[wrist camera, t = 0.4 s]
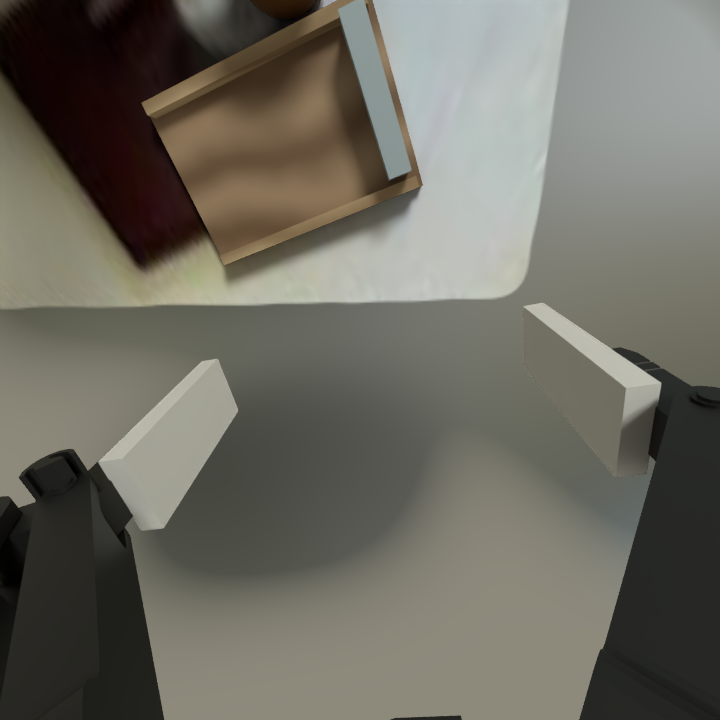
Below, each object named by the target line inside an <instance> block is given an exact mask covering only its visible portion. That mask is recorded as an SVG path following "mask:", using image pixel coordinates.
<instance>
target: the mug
mask: <svg viewBox="0 0 720 720" xmlns="http://www.w3.org/2000/svg"><path fill="white" fill-rule="evenodd" d="M251 1H252V2H253V4H254V5H255V6H256V7H257V8H259V9H260V10H261V11H262V12H264V13H266V14H267V15H269V16H271V17H274V18H277V19H285V20H286V19H293V18H296V17H299V16H301V15H302V14H304V13H305V12H307V11H308V10H309V9H310V8H311V7H312V6H313V4H314V3H315V2H316V0H251Z"/></svg>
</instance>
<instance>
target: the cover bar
mask: <svg viewBox="0 0 720 720" xmlns="http://www.w3.org/2000/svg"><path fill="white" fill-rule="evenodd" d="M338 13H339V17H340V22H341V26H342V31H343V34H344V38H345V41H346V44H347V47H348V51H349V54H350V57H351V61H352V64H353V67H354V70H355V74H356V77H357V80H358V83H359V87H360V90H361V93H362V97H363V100H364V103H365V106H366V110H367V113H368V116H369V119H370V123H371V126H372V129H373V133H374V136H375V139H376V142H377V146H378V149H379V152H380V155H381V159H382V162H383V165H384V169H385V172H386V175H387V178H388V181H390V180H392V179H395V178H397V177H400V176H402V175H405V174H407V173H409V172H410V171H412V169H411V166H410V162H409V159H408V155H407V151H406V148H405V144H404V141H403V137H402V134H401V130H400V126H399V123H398V119H397V116H396V112H395V108H394V105H393V101H392V98H391V94H390V91H389V87H388V83H387V80H386V76H385V73H384V69H383V66H382V62H381V58H380V55H379V51H378V48H377V44H376V41H375V37H374V33H373V30H372V26H371V23H370V19H369V15H368V12H367V8H366V5H365V1H364V0H355V1H353V2H351V3H349V4H347V5H345V6H343V7H341V8H339V9H338Z"/></svg>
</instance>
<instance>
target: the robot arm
mask: <svg viewBox="0 0 720 720" xmlns="http://www.w3.org/2000/svg"><path fill="white" fill-rule="evenodd" d="M523 334H524V368H525V369H526V370H527V372H528V373H529V374H530V375H531V376H532V378H533V379H534V380H535V381H536V382H537V384H538V385H539V386H540V387H541V388H542V390H543V391H544V392H545V393H546V394H547V396H548V397H549V398H550V399H551V400H552V402H553V403H554V404H555V405H556V406H557V408H558V409H559V410H560V411H561V412H562V414H563V415H564V416H565V417H566V419H567V420H568V421H569V422H570V423H571V425H572V426H573V427H574V428H575V429H576V431H577V432H578V433H579V434H580V435H581V436H582V438H583V439H584V440H585V441H586V443H587V444H588V445H589V446H590V447H591V449H592V450H593V451H594V452H595V453H596V455H597V456H598V457H599V458H600V460H601V461H602V462H603V463H604V464H605V466H607V468H608V469H609V470H610V472H611V473H612V474H613V475H614V476H615V477H624V476H633V475H641V474H647V468H648V462H649V456H651V457H652V458H653V459H654V460H655V461H656V463H655V467H654V470H653V474H652V477H651V481H650V484H649V488H648V491H647V495H646V499H645V502H644V506H643V509H642V513H641V516H640V520H639V524H638V527H637V531H636V534H635V538H634V541H633V545H632V549H631V552H630V556H629V559H628V563H627V566H626V570H625V574H624V577H623V581H622V584H621V588H620V592H619V595H618V599H617V602H616V606H615V610H614V613H613V617H612V620H611V624H610V628H609V631H608V634H607V638H606V641H605V644H604V647H603V649H601V650H600V652H599V655H598V658H597V661H596V664H595V667H594V670H593V674H592V677H591V681H590V684H589V688H588V691H587V695H586V698H585V702H584V705H583V709H582V712H581V716H580V719H579V720H720V388H717V387H708V386H690V385H689V384H687V383H685V382H683V381H682V380H681V379H679V378H677V377H675V376H674V375H672V374H671V373H669V372H667V371H666V370H664V369H661V368H660V366H658V365H656V364H655V363H653V362H650V360H648V359H647V358H645V357H644V356H642V355H640V354H639V353H636V352H633V351H630V350H627V349H623V348H613V349H610V348H609V347H607V346H606V345H605V344H603V343H602V342H600V341H598V340H597V339H595V338H594V337H592V336H591V335H590V334H588V333H587V332H585V331H584V330H582V329H581V328H579V327H578V326H576V325H575V324H573V323H572V322H571V321H569V320H568V319H566V318H565V317H563V316H562V315H560V314H559V313H557V312H556V311H554V310H553V309H551V308H549V307H548V306H547V305H545V304H544V303H540V304H534V305H528V306H524V307H523ZM237 412H238V408H237V406H236V404H235V401H234V398H233V396H232V393H231V391H230V388H229V386H228V383H227V381H226V378H225V376H224V373H223V371H222V368H221V366H220V363H219V361H218V359H213V360H208V361H202V362H201V363H200V364H199V365H198V366H197V367H196V368H195V369H193V371H191V372H190V373H189V374H188V375H187V376H186V377H185V378H184V379H183V380H182V381H181V382H180V383H179V384H178V385H177V386H176V387H175V388H174V389H173V390H172V391H171V392H170V393H169V394H168V395H167V396H166V397H165V398H163V400H162V401H160V402H159V403H158V404H157V405H156V406H155V407H154V408H153V409H152V410H151V411H150V412H149V413H148V414H147V415H146V416H145V417H144V418H143V419H142V420H141V421H140V422H139V423H138V424H137V425H136V426H135V427H133V428H132V429H131V430H130V431H129V432H128V433H127V434H126V435H125V436H124V437H123V438H122V439H121V440H120V441H119V442H118V443H117V444H116V445H115V446H114V447H112V449H110V450H109V451H108V452H107V453H106V454H105V455H104V456H103V457H102V458H101V459H100V460H99V461H98V462H97V463H96V464H95V465H94V466H93V467H92V468H91V469H90V470H89V471H87V469H86V467H85V466H84V464H83V463H82V461H81V460H80V458H79V457H78V455H77V454H76V452H75V451H74V450H73V449H67V450H62V451H58V452H55V453H53V454H50V455H48V456H46V457H44V458H42V459H40V460H38V461H36V462H35V463H33V464H32V465H30V466H29V467H28V468H27V469H25V470H24V471H23V472H22V474H21V475H20V477H19V478H20V480H21V481H22V483H23V484H24V485H25V486H26V488H27V489H28V490H29V492H30V493H31V494H32V496H33V497H34V498H35V500H36V502H35V503H32V504H29V505H26V506H23V507H20V508H18V507H17V506H16V504H15V503H14V502H13V501H12V499H11V498H10V497H8V496H7V497H6V496H5V497H0V720H164V716H163V711H162V705H161V700H160V694H159V689H158V683H157V678H156V673H155V668H154V662H153V657H152V651H151V646H150V640H149V635H148V629H147V624H146V618H145V613H144V608H143V602H142V597H141V592H140V586H139V581H138V575H137V570H136V564H135V559H134V554H133V549H132V543H131V537H130V535H129V533H128V532H127V530H126V529H125V526H126V524H127V523H128V522H129V520H130V519H131V518H132V517H133V518H134V520H135V522H136V523H137V525H138V527H139V528H140V530H141V531H143V530H151V529H160V528H164V526H165V525H166V523H167V522H168V520H169V519H170V517H171V515H172V514H173V512H174V511H175V509H176V508H177V506H178V505H179V503H180V501H181V500H182V498H183V497H184V495H185V493H186V492H187V490H188V489H189V487H190V486H191V484H192V482H193V481H194V479H195V478H196V476H197V474H198V473H199V471H200V470H201V468H202V467H203V465H204V464H205V462H206V461H207V459H208V457H209V456H210V454H211V453H212V451H213V450H214V448H215V446H216V445H217V443H218V442H219V440H220V439H221V437H222V435H223V434H224V432H225V431H226V429H227V428H228V426H229V424H230V423H231V421H232V420H233V418H234V417H235V415H236V413H237ZM391 720H462V719H461V716H438V717H411V718H394V719H391Z"/></svg>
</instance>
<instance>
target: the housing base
mask: <svg viewBox="0 0 720 720" xmlns="http://www.w3.org/2000/svg"><path fill="white" fill-rule="evenodd" d="M353 1H355V0H337V1H335V2H334V3H332V4H330V5H328V6H326V7H324V8H322V9H320V10H318V11H316V12H314V13H313V14H311V15H309V16H307V17H305V18H303V19H301V20H299V21H297V22H295V23H293V24H291V25H290V26H288V27H286V28H284V29H282V30H280V31H278V32H276V33H274V34H272V35H270V36H269V37H267V38H265V39H263V40H261V41H259V42H257V43H255V44H253V45H251V46H249V47H248V48H246V49H244V50H242V51H240V52H238V53H236V54H234V55H232V56H230V57H228V58H226V59H225V60H223V61H221V62H219V63H217V64H215V65H213V66H211V67H209V68H207V69H205V70H204V71H202V72H200V73H198V74H196V75H194V76H192V77H190V78H188V79H186V80H184V81H183V82H181V83H179V84H177V85H175V86H173V87H171V88H169V89H167V90H165V91H163V92H161V93H160V94H158V95H156V96H154V97H152V98H150V99H148V100H146V101H144V102H142V105H143V107H144V109H145V111H146V113H147V115H148V116H150V118H151V120H152V122H153V124H154V126H155V128H156V130H157V131H158V133H159V135H160V137H161V139H162V141H163V143H164V145H165V147H166V149H167V151H168V153H169V155H170V157H171V159H172V161H173V163H174V165H175V167H176V169H177V171H178V173H179V175H180V177H181V179H182V181H183V183H184V185H185V186H186V188H187V190H188V192H189V194H190V196H191V198H192V200H193V202H194V204H195V206H196V208H197V210H198V212H199V214H200V216H201V218H202V220H203V222H204V224H205V226H206V228H207V230H208V232H209V234H210V236H211V238H212V240H213V242H214V243H215V245H216V247H217V249H218V251H219V253H220V255H221V256H220V258H221V260H222V262H223V264H224V265H226V264H229V263H231V262H234V261H236V260H239V259H241V258H244V257H246V256H248V255H251V254H253V253H256V252H258V251H261V250H263V249H266V248H268V247H271V246H273V245H276V244H278V243H281V242H283V241H286V240H288V239H291V238H293V237H296V236H298V235H301V234H303V233H306V232H308V231H311V230H313V229H316V228H318V227H321V226H323V225H326V224H328V223H331V222H333V221H336V220H338V219H341V218H343V217H346V216H348V215H351V214H353V213H356V212H358V211H361V210H363V209H366V208H368V207H371V206H373V205H376V204H378V203H381V202H383V201H386V200H388V199H391V198H393V197H396V196H398V195H401V194H403V193H406V192H408V191H411V190H413V189H415V188H418V187H420V186H422V185H423V184H422V180H421V177H420V173H419V169H418V166H417V162H416V158H415V155H414V151H413V147H412V144H411V140H410V136H409V133H408V129H407V125H406V122H405V118H404V114H403V111H402V107H401V103H400V100H399V96H398V92H397V89H396V85H395V81H394V78H393V74H392V70H391V67H390V63H389V59H388V56H387V52H386V48H385V45H384V41H383V37H382V34H381V30H380V26H379V23H378V19H377V15H376V12H375V8H374V4H373V1H372V0H364V1H365V5H366V8H367V12H368V15H369V19H370V23H371V26H372V30H373V33H374V37H375V41H376V44H377V48H378V51H379V55H380V58H381V62H382V66H383V69H384V73H385V76H386V80H387V83H388V87H389V91H390V94H391V98H392V101H393V105H394V108H395V112H396V116H397V119H398V123H399V126H400V130H401V134H402V137H403V141H404V144H405V148H406V151H407V155H408V159H409V162H410V166H411V169H412V171H410V172H409V173H407V174H405V175H402V176H400V177H397V178H395V179H392V180H390V181H388V178H387V175H386V172H385V169H384V165H383V162H382V159H381V155H380V152H379V149H378V146H377V142H376V139H375V136H374V133H373V129H372V126H371V123H370V119H369V116H368V113H367V110H366V106H365V103H364V100H363V97H362V93H361V90H360V87H359V83H358V80H357V77H356V74H355V70H354V67H353V64H352V61H351V57H350V54H349V51H348V47H347V44H346V41H345V38H344V34H343V31H342V26H341V22H340V17H339V13H338V9H339V8H341V7H343V6H345V5H347V4H349V3H351V2H353Z"/></svg>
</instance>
